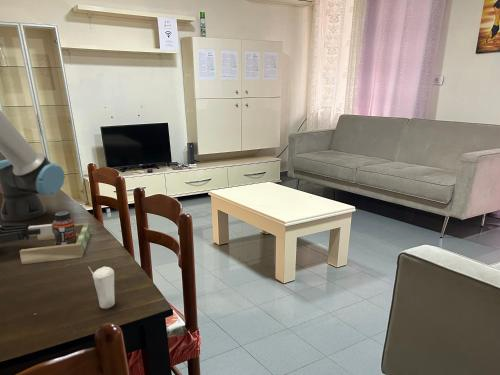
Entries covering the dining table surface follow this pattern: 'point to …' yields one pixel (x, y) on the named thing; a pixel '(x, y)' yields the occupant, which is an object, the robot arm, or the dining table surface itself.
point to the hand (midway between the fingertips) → (52, 228)
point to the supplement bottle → (64, 229)
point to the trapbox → (58, 247)
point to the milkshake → (104, 286)
